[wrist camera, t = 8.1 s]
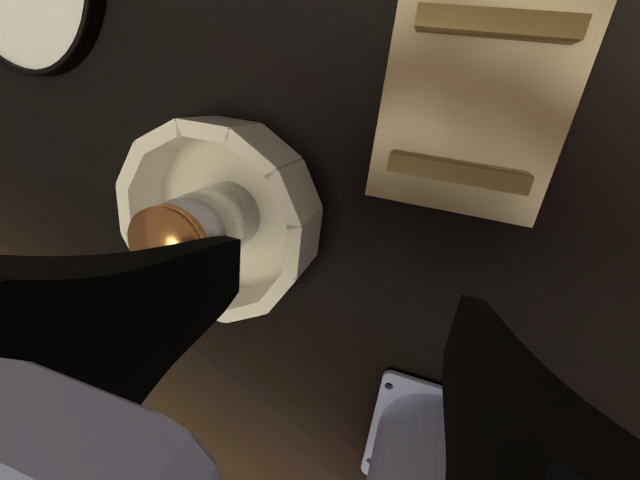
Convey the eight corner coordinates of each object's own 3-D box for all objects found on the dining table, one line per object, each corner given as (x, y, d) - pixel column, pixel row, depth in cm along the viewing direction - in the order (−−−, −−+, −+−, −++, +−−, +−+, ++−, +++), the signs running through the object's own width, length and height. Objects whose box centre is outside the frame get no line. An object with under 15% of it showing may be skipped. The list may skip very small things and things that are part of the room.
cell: (257, 250, 23) (200, 297, 17) (201, 235, 24) (130, 275, 18) (262, 188, 21) (200, 218, 16) (201, 175, 22) (123, 199, 17)
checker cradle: (527, 221, 18) (539, 238, 16) (368, 190, 20) (358, 201, 18) (616, -23, 14) (649, -46, 12) (407, -32, 16) (401, -53, 14)
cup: (310, 311, 24) (289, 343, 21) (164, 269, 26) (126, 292, 23) (332, 134, 19) (311, 140, 16) (155, 105, 22) (107, 106, 19)
